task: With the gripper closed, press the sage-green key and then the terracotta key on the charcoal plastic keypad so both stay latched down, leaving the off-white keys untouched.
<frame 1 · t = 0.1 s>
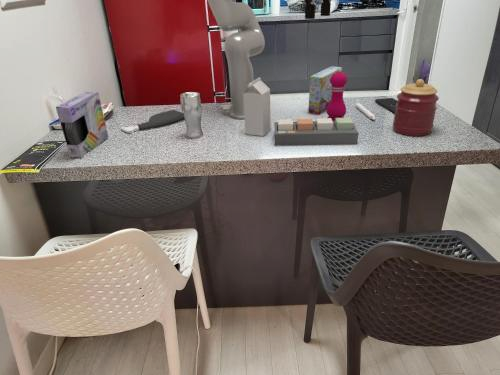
hand: (317, 17, 118), 37 cm above the worktop, tool pointing down, fingers open, 9 cm apart
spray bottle: (154, 126, 149), on the worktop
keypad: (313, 138, 128), on the worktop
key white mid: (324, 126, 125), point 4 cm above the worktop, slide at 0.0 cm
marker: (365, 115, 148), on the worktop
key terracotta: (304, 126, 126), point 4 cm above the worktop, slide at 0.0 cm
canister: (411, 130, 131), on the worktop
key sage: (343, 125, 125), point 4 cm above the worktop, slide at 0.0 cm
milk carton: (258, 132, 136), on the worktop
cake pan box: (90, 148, 129), on the worktop
pepper mill: (335, 122, 141), on the worktop
beer glass: (194, 135, 135), on the worktop
key white left: (285, 126, 126), point 4 cm above the worktop, slide at 0.0 cm
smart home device: (393, 109, 153), on the worktop
snack box: (324, 107, 158), on the worktop
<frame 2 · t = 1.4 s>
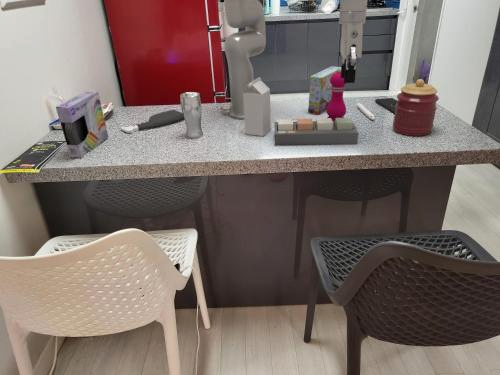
hand: (347, 79, 118), 20 cm above the worktop, tool pointing down, fingers open, 5 cm apart
nothing on the worktop moved.
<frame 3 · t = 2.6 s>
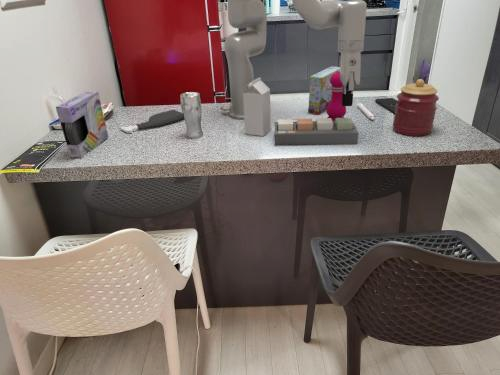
hand: (346, 105, 121), 11 cm above the worktop, tool pointing down, fingers closed
nothing on the worktop moved.
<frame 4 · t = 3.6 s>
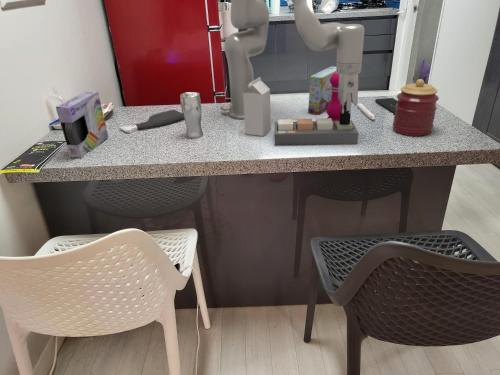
hand: (344, 123, 125), 5 cm above the worktop, tool pointing down, fingers closed
key sage: (343, 129, 126), point 3 cm above the worktop, slide at 1.2 cm, touching gripper
everything else where it was.
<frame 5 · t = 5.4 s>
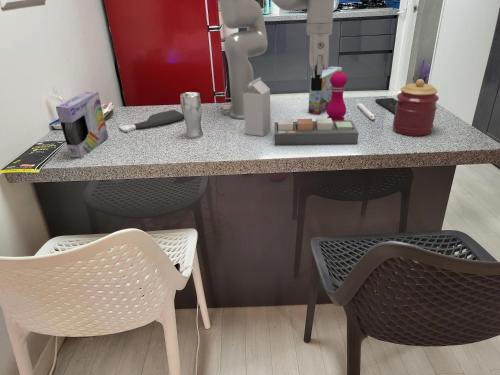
hand: (316, 90, 120), 17 cm above the worktop, tool pointing down, fingers closed
key sage: (343, 129, 126), point 3 cm above the worktop, slide at 1.4 cm
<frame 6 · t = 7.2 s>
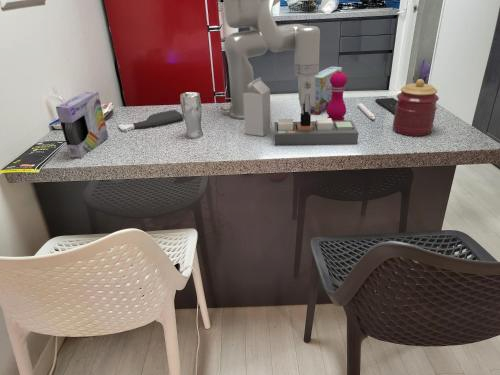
hand: (305, 124, 125), 5 cm above the worktop, tool pointing down, fingers closed
key terracotta: (304, 130, 127), point 3 cm above the worktop, slide at 1.3 cm, touching gripper
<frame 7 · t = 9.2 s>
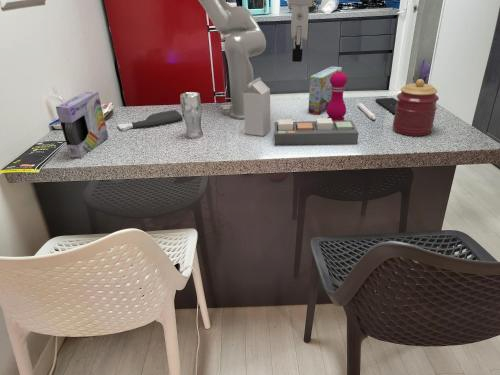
hand: (296, 61, 126), 24 cm above the worktop, tool pointing down, fingers closed
key terracotta: (304, 130, 127), point 3 cm above the worktop, slide at 1.4 cm
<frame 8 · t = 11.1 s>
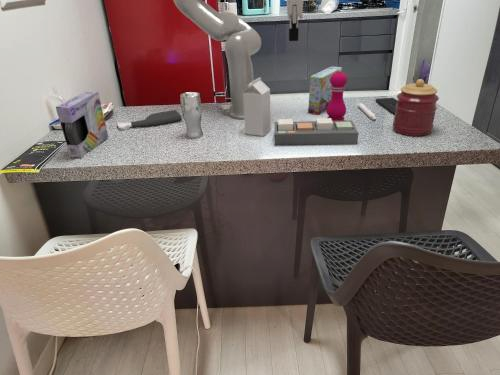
hand: (293, 40, 132), 29 cm above the worktop, tool pointing down, fingers closed
at the end: key sage slide at 1.4 cm; key terracotta slide at 1.4 cm; key white mid slide at 0.0 cm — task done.
